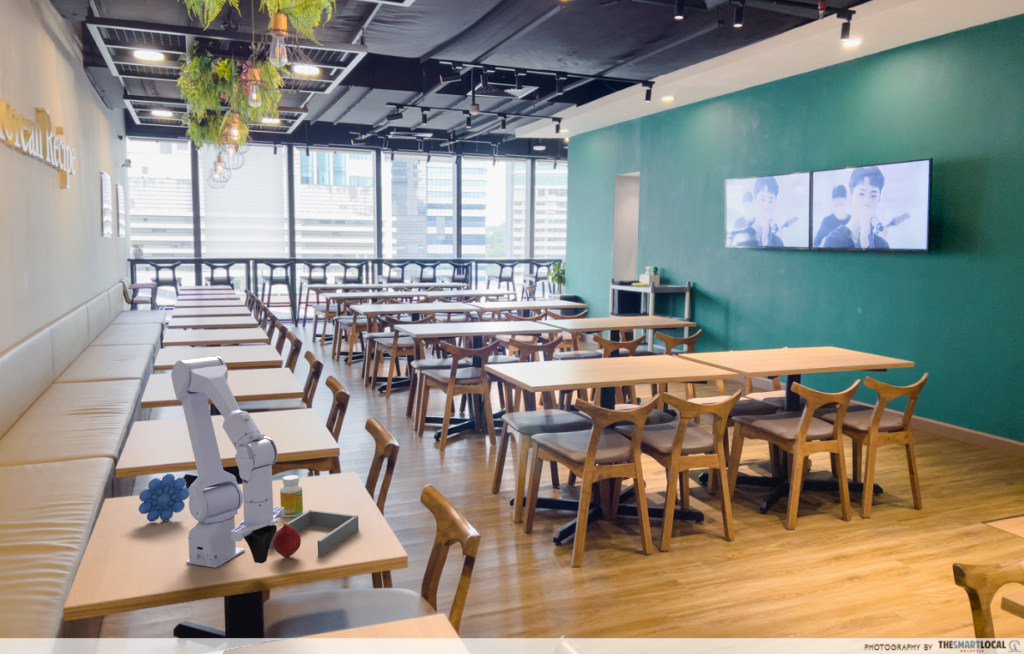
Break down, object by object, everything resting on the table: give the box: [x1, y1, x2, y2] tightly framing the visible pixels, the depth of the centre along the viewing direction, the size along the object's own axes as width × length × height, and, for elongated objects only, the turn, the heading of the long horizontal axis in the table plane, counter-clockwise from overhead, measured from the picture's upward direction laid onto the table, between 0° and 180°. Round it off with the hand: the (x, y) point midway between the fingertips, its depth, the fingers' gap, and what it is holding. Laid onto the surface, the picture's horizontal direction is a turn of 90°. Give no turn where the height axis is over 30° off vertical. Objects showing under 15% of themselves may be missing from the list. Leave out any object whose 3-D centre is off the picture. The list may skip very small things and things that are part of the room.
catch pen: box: [269, 509, 360, 557], centre depth 165 cm, size 16×14×4 cm
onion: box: [273, 521, 302, 559], centre depth 155 cm, size 6×6×8 cm
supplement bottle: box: [279, 474, 304, 518], centre depth 181 cm, size 5×5×10 cm
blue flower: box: [138, 473, 189, 523], centre depth 177 cm, size 12×7×12 cm, turn 111°
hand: (260, 561), depth 146 cm, fingers closed
